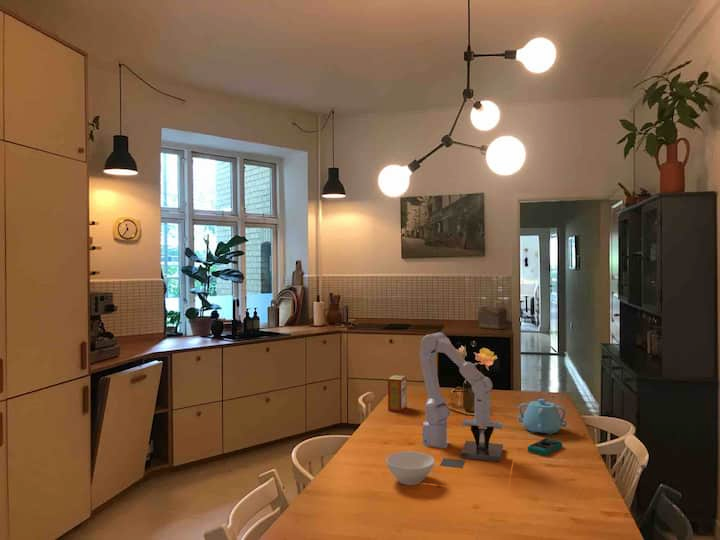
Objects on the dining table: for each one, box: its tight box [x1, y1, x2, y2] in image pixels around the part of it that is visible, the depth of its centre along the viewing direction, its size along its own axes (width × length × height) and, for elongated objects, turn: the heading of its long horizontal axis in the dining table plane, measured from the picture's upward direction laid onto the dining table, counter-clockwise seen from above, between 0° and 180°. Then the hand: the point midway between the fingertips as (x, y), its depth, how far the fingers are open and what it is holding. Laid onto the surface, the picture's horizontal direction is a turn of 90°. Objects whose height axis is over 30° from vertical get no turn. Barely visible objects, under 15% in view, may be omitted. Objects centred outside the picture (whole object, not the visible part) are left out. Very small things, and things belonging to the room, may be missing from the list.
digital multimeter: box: [527, 437, 563, 457], centre depth 208 cm, size 7×15×3 cm, turn 134°
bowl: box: [385, 450, 435, 486], centre depth 178 cm, size 16×16×7 cm
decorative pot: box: [517, 398, 568, 436], centre depth 231 cm, size 16×16×14 cm
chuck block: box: [460, 440, 504, 463], centre depth 202 cm, size 14×14×2 cm
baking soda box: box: [387, 374, 407, 413], centre depth 267 cm, size 10×6×16 cm
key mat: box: [439, 457, 467, 469], centre depth 193 cm, size 8×8×1 cm
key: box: [478, 427, 487, 451], centre depth 202 cm, size 3×3×9 cm
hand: (482, 446), depth 202 cm, fingers closed on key, 3 cm apart
